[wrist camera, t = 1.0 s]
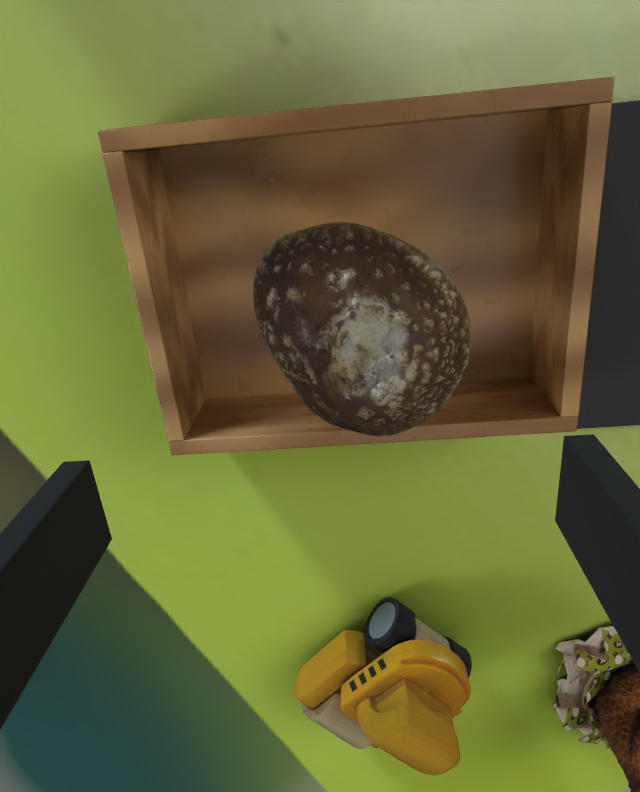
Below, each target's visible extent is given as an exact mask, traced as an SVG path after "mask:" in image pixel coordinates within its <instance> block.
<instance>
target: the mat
mask: <svg viewBox="0 0 640 792" xmlns="http://www.w3.org/2000/svg"><path fill="white" fill-rule="evenodd" d="M629 425H640V101H630V102H620V103H612V107H611V116H610V126H609V135H608V144H607V153H606V163H605V172H604V181H603V191H602V200H601V209H600V219H599V228H598V237H597V247H596V256H595V265H594V275H593V284H592V293H591V303H590V312H589V321H588V330H587V340H586V349H585V358H584V368H583V377H582V386H581V396H580V405H579V414H578V422H577V429H579V428H595V427H612V426H629Z"/></svg>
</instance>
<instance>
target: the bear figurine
mask: <svg viewBox="0 0 640 792" xmlns="http://www.w3.org/2000/svg"><path fill="white" fill-rule="evenodd" d="M555 649H557V650H559V651H561V652H563V653H564V657H563V661H562V662H561V664H560V665H558V673H557V678H558V675H559V671H560V668H561V665H562V663H563V662H564V664H565V667H566V671H567V675H568V676H567V679H559V680H557V684H558V690H557V695H556V702H557V703H556V702H555V705H554V710H555V709H556V711H557V713H558V715H559V717H560V719H561V720H562V722H563V724H564V725H563V727H565V728H566V729H567V730H571V729H576V730H579V731H581V732H583V733H584V734H586V735H587V736H585V737H582V738H580V739H579V740H578V741H582V742H586V743H594V744H596V743H598V742H604V743H605V745H606V748H607V749H608V748H610V749H611V751H613V753H614V754H615V756H616V758H617V760H618V763H619V764H620V766H621V768H622V769H623V771H624V773H625V775H626V777H627V780H628V782H629V787H630V789H631V792H640V673H639V671H638V669H637V668H636V666H635V664H634V662H633V660H632V659H631V657H630V655H629V653H628V651H627V649H626V648H625V646H624V644H623V642H622V640H621V639H620V637H619V635H618V633H617V631H616V630H615V628H614V626H609V627H599V628H598V630H597V631H596V632H595V633H594V634H593V635H592V636H591V637H590V638H589V639H588V640H587V641H586V642H584V641H581V640H579V639H576V640H570V641H564V642H559V644H558V645H557V647H556V648H555Z"/></svg>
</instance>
